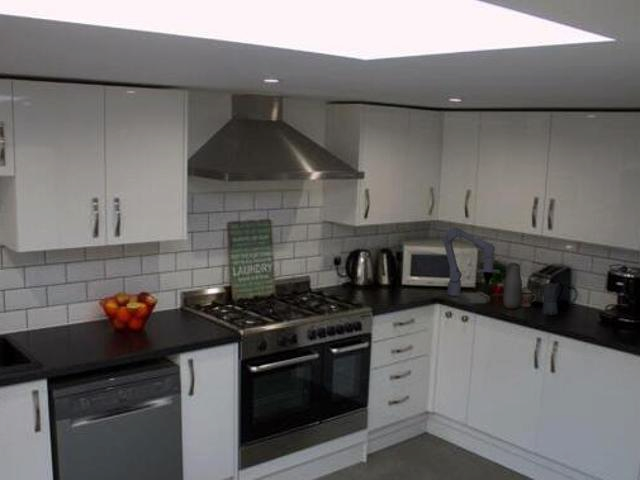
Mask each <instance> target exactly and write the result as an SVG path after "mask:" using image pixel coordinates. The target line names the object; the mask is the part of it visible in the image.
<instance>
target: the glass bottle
mask: <svg viewBox="0 0 640 480" xmlns="http://www.w3.org/2000/svg"><path fill="white" fill-rule="evenodd" d="M506 269H507V270H506V275H505V277H504V282H503V297H502V298H503V299H502V300H503V306H504V308H506V309H511V310H515V309H517V308H519V307H520V306H519V305H520V302H521V291H522V288H523V282H522V277H521V265H520V264H519V263H517V262H510V263H508V265H507V266H506Z"/></svg>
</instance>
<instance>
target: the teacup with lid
mask: <svg viewBox="0 0 640 480" xmlns="http://www.w3.org/2000/svg"><path fill="white" fill-rule="evenodd" d="M533 296H534V299H533V300H532V297H533ZM535 301H537V295H536V294H534V293H533V291H532V290H530V289H529V288H528V287H527V286H522V291H521V302H520V305H519V307H523V308H530V307H531V306H532V302H533V303H535Z"/></svg>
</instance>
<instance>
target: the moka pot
mask: <svg viewBox="0 0 640 480" xmlns="http://www.w3.org/2000/svg"><path fill="white" fill-rule="evenodd" d="M552 281H553V280H549V282H548V283H543V284H541V286H540V288H541V290H542V297H543V302H542V303H543V304H542V309H541V314H543V315H545V316H547V315H548V316H555V315H558V314H559V310H558V302H557V301H558V300H559V299H561V297H562V294H563V290H564V287H565V286H564V284H563V283H562V282H559V283H552ZM559 287H561V288H560V292H559Z"/></svg>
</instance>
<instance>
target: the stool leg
mask: <svg viewBox="0 0 640 480" xmlns="http://www.w3.org/2000/svg"><path fill="white" fill-rule="evenodd" d="M476 293H477V294H479V295H480V296H482V297H484V298H485V299H486V303H487V302H488V303H489V302H491V296H489V295H488V294H487V293H484V292H483V291H479V290H478V291H476Z"/></svg>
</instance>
